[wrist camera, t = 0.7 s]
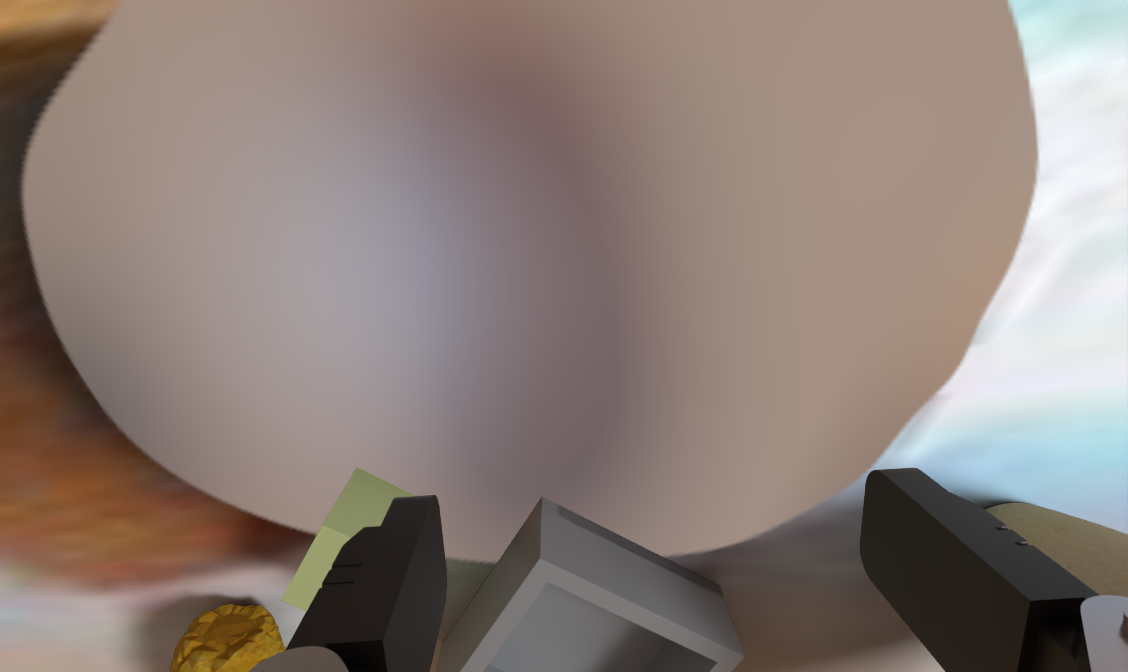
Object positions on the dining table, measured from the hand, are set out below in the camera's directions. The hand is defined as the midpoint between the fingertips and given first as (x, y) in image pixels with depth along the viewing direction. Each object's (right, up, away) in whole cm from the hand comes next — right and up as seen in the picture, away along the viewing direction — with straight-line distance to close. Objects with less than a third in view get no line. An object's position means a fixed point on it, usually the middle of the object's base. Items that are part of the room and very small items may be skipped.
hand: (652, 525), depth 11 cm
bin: (-1, -13, +24) cm, 27 cm away
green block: (-12, -7, +22) cm, 26 cm away
